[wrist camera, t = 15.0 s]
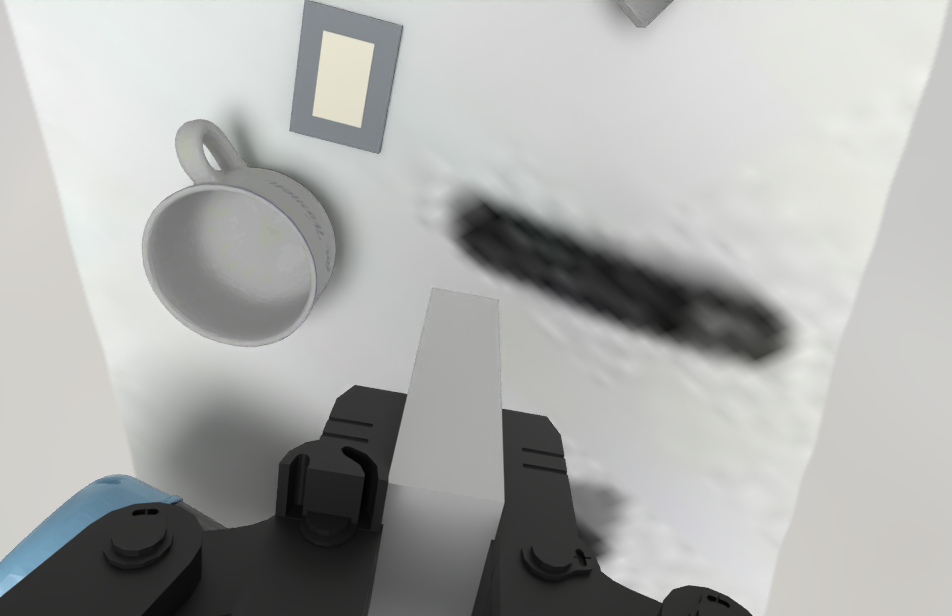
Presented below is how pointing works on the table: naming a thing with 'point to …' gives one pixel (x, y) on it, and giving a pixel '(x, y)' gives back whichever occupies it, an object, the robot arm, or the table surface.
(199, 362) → the table surface
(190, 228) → the teacup
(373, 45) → the label plate
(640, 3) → the swing arm
